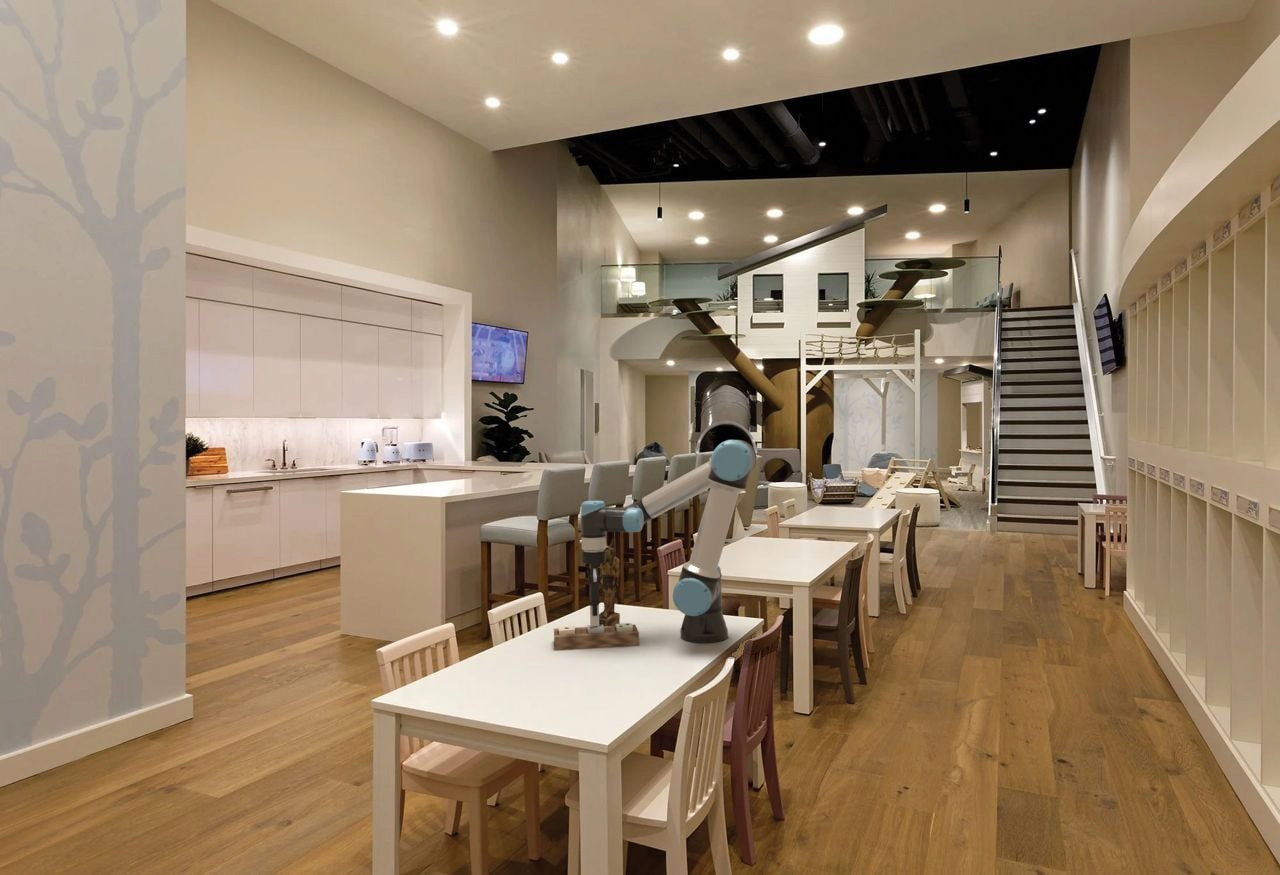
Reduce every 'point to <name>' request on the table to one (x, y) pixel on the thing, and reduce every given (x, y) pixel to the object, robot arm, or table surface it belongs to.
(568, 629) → the button
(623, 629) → the pale green block
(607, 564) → the statue
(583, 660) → the table surface
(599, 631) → the button
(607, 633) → the wooden tray
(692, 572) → the robot arm
